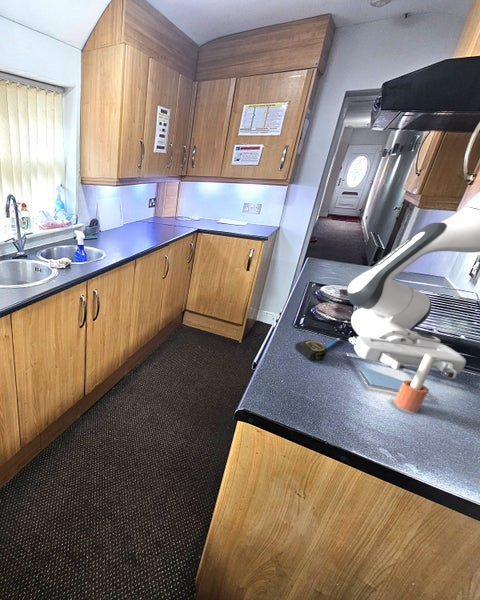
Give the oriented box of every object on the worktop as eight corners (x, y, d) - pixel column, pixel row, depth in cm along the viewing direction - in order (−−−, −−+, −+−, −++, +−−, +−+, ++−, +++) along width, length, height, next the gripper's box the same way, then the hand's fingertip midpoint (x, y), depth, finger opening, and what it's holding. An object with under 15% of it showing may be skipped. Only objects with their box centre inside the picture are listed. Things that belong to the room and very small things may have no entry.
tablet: (402, 364, 95) (403, 362, 95) (437, 402, 80) (438, 399, 80) (345, 354, 100) (346, 351, 100) (367, 388, 85) (368, 385, 84)
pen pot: (412, 403, 80) (422, 383, 77) (421, 415, 76) (433, 394, 73) (390, 398, 81) (399, 378, 79) (398, 409, 77) (408, 389, 75)
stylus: (409, 403, 79) (434, 353, 73) (412, 408, 77) (438, 357, 72) (399, 401, 79) (424, 352, 74) (403, 406, 78) (428, 356, 72)
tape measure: (292, 350, 102) (294, 340, 100) (314, 348, 102) (316, 338, 100) (307, 363, 95) (310, 353, 94) (330, 361, 95) (333, 350, 94)
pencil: (340, 340, 107) (340, 338, 107) (316, 357, 99) (317, 355, 98) (337, 339, 108) (337, 337, 108) (313, 355, 99) (314, 354, 99)
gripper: (349, 326, 88) (375, 351, 76) (445, 338, 82) (489, 367, 70) (342, 346, 90) (366, 374, 78) (434, 359, 85) (475, 391, 72)
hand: (425, 371), depth 74 cm, fingers open, 8 cm apart
